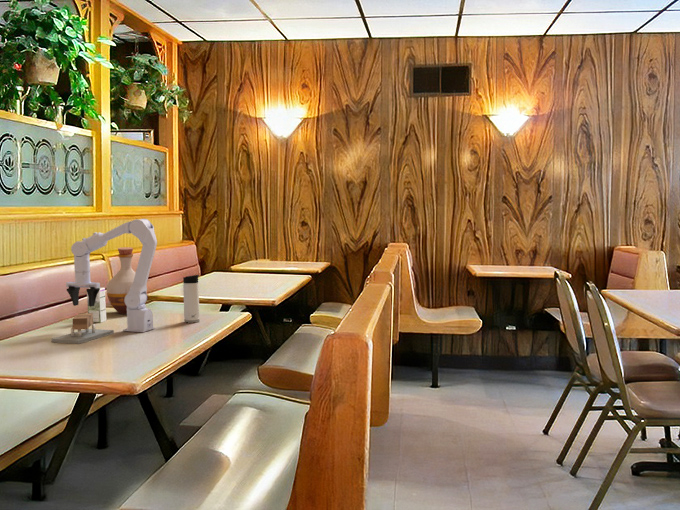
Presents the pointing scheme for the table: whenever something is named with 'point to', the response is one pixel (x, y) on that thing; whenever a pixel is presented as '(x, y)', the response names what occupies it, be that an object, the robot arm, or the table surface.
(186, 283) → the travel mug
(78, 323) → the copper brown rectangular block
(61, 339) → the peg plate
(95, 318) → the syrup box
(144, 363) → the table surface
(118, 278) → the jug
